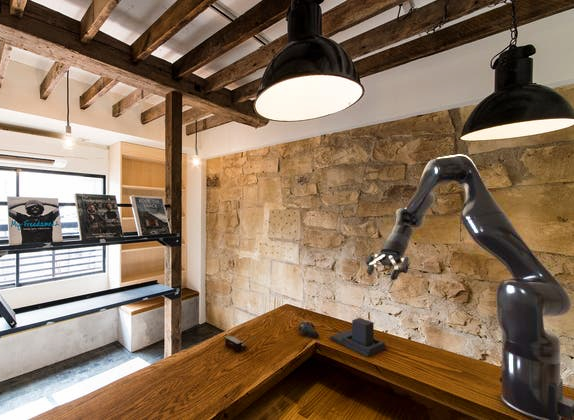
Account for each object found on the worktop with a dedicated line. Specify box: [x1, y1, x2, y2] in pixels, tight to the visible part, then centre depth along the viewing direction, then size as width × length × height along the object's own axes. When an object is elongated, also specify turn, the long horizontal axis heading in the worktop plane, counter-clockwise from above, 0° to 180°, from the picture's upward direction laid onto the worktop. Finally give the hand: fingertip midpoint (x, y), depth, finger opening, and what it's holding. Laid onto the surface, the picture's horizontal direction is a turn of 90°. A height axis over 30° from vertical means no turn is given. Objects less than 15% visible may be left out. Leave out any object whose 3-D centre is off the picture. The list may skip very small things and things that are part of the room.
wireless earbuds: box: [224, 334, 248, 353], centre depth 95 cm, size 5×7×3 cm, turn 41°
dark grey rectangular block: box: [351, 317, 375, 347], centre depth 97 cm, size 5×5×8 cm
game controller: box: [298, 321, 320, 339], centre depth 108 cm, size 10×5×6 cm
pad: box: [330, 329, 387, 358], centre depth 99 cm, size 14×12×2 cm
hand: (380, 276), depth 102 cm, fingers open, 8 cm apart
